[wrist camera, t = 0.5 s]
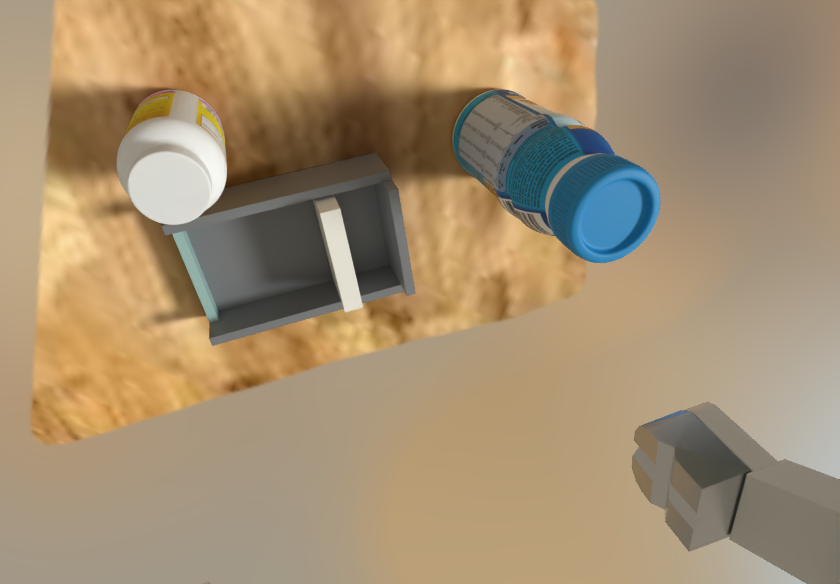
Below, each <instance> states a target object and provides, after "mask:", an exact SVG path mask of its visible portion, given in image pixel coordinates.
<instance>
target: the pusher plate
mask: <svg viewBox="0 0 840 584" xmlns="http://www.w3.org/2000/svg"><path fill="white" fill-rule="evenodd" d="M313 203H314V206H315V210H316V214H317V218H318V222H319V226H320V230H321V234H322V237H323V241H324V245H325V249H326V253H327V257H328V261H329V265H330V268H331V272H332V276H333V280H334V283H335V285H336V288H337V291H338V294H339V297H340V299H341V302H342V305H343V308H344V311H345V312H348V311H352V310H355V309H359V308H362V307H363V305H362V300H361V296H360V292H359V287H358V283H357V279H356V274H355V270H354V266H353V261H352V257H351V253H350V248H349V244H348V240H347V235H346V231H345V227H344V223H343V218H342V214H341V210H340V207H339V205H338V203H337V201H336V198H335V196H334V194H333V195H329V196H325V197H321V198H317V199H313Z"/></svg>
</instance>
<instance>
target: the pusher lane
mask: <svg viewBox="0 0 840 584" xmlns="http://www.w3.org/2000/svg"><path fill="white" fill-rule="evenodd" d="M333 194H334V196H335V198H336V201H337V203H338V205H339V207H340V210H341V214H342V218H343V223H344V227H345V231H346V235H347V240H348V244H349V248H350V253H351V257H352V261H353V266H354V270H355V274H356V279H357V283H358V287H359V292H360V296H361V300H362V303H365V302H369V301H372V300H376V299H379V298H383V297H386V296H390V295H394V294H397V293H401V292H405V293H406V295H407V296H408V295H412V294H415V288H414V282H413V276H412V270H411V264H410V258H409V252H408V246H407V240H406V234H405V228H404V222H403V216H402V210H401V204H400V197H399V191H398V188H397V187H396V185H395V184H394V183H393V181H392V180H391V174H390V170H389V169H388V168H387V166H386V165H385V164H384V162H383V161H382V160H381V159H380V157H379V156H378V155H377V154H376V153H372V154H367V155H363V156H359V157H355V158H350V159H346V160H342V161H338V162H333V163H329V164H325V165H321V166H316V167H312V168H308V169H304V170H300V171H295V172H291V173H287V174H283V175H278V176H274V177H270V178H266V179H261V180H257V181H253V182H249V183H244V184H240V185H236V186H232V187H227V188H224V190H223V192H222V194H221V195H220V197H219V198H218V200H217V201H216V202H215V203H214V204H213V205H212V206H211V207H210V208H208V209H207V210H205V211H204V212H203V213H202V214H201V215H200V216H199V217H198V218H196V219H194V220H192V221H190V222H188V223H184V224H178V225H169V224H161V227H162V230H163V232H164V234H165V236H166V235H170V234H172V235H173V237H174V240H175V242H176V244H177V247H178V249H179V251H180V254H181V256H182V259H183V261H184V263H185V266H186V268H187V270H188V273H189V275H190V278H191V280H192V282H193V285H194V287H195V289H196V292H197V294H198V296H199V299H200V301H201V304H202V306H203V308H204V311H205V313H206V315H207V318H208V320H209V323H210V329H209V339H210V341H211V344H212V346H214V345H217V344H221V343H224V342H228V341H231V340H235V339H238V338H242V337H245V336H249V335H252V334H256V333H259V332H263V331H266V330H270V329H274V328H277V327H281V326H284V325H288V324H291V323H295V322H298V321H302V320H305V319H309V318H312V317H316V316H319V315H323V314H326V313H330V312H334V311H337V310H341V309H344V308H343V305H342V302H341V299H340V297H339V294H338V291H337V288H336V285H335V283H334V280H333V276H332V272H331V268H330V265H329V261H328V257H327V253H326V249H325V245H324V241H323V237H322V234H321V230H320V226H319V222H318V218H317V214H316V210H315V206H314V203H313V199H317V198H321V197H325V196H329V195H333Z"/></svg>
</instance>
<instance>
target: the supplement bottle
mask: <svg viewBox="0 0 840 584" xmlns="http://www.w3.org/2000/svg"><path fill="white" fill-rule="evenodd" d="M117 173H118V176H119V179H120V182H121V184H122V186H123V188H124V190H125V191H126V192H127V194H128V195H129V196H130V199H131V201H132V203H133V204H134V206H135V207H136V208H137V209H138V210H139V211H140V212H141V213H142V214H143V215H145V216H146V217H148V218H149V219H151V220H153V221H156V222H158V223H162V224H169V225H178V224H184V223H188V222H190V221H192V220H194V219H196V218H198V217H199V216H200V215H201V214H202V213H203V212H204V211H205V210H207V209H208V208H210V207H211V206H212V205H213V204H214V203H215V202H216V201H217V200H218V198H219V197H220V195H221V194H222V192H223V190H224V187H225V183H226V178H227V163H226V148H225V136H224V130H223V127H222V124H221V121H220V119H219V117H218V115H217V114H216V112H215V111H214V110H213V108H212V107H211V106H210V105H209V104H208V103H207V102H205V101H204V100H203V99H201V98H200V97H198V96H196V95H194V94H192V93H189V92H186V91H181V90H164V91H160V92H157V93H154V94H152V95H150V96H148V97H147V98H146V99H145V100H143V101H142V102H141V103H140V104H139V106H138V107H137V109H136V110H135V112H134V114H133V117H132V119H131V121H130V123H129V126H128V128H127V130H126V132H125V135H124V137H123V139H122V141H121V144H120V146H119V149H118V153H117Z"/></svg>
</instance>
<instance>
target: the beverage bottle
mask: <svg viewBox="0 0 840 584" xmlns="http://www.w3.org/2000/svg"><path fill="white" fill-rule="evenodd" d="M452 141H453V150H454V154H455V156H456V159H457V161H458V162H459V164H460V165H461V167H462V168H463V169H464V170H465V171H466V172H467V173H469V174H470V175H471V176H473V177H474V178H476V179H477V180H479V181H480V182H481V183H482V184H483V185H484V186H485V187H486V188H487V189H488V190H490V191H491V192H492V193H493V194H494V195H495V196H496V197H497V198H498V200H499V202H500V203H501V205H502V206H503V207H504V208H505V209H506V210H507V211H508V212H509V213H510V214H512V215H513V216H515V217H516V218H518V219H520V220H521V221H522V222H523V223H524V224H525V225H526V226H527V227H529V228H531V229H532V230H534V231H536V232H539V233H542V234H546V235H551V236H556V237H557V239H558V240H559V241H561V242H562V243H563V244H564V245H565V246H566V247H567V248H568V249H570V250H571V251H572V252H573V253H574V254H575V255H577V256H579V257H580V258H583V259H585V260H587V261H590V262H594V263H606V262H611V261H615V260H617V259H620V258H622V257H624V256H626V255H627V254H629V253H630V252H632V251H633V250H635V249H636V248H637V247H638V246H639V245H640V244H641V243H642V242H643V241H644V240H645V238H646V237H647V236H648V234H649V233H650V232H651V230H652V228H653V226H654V224H655V222H656V220H657V217H658V213H659V209H660V192H659V188H658V185H657V183H656V182H655V180H654V179H653V177H652V176H651V175H650V174H649V173H648V172H646V170H644V169H643V168H641V167H640V166H638V165H636V164H634V163H632V162H630V161H628V160H626V159H624V158H622V157H619V156H617V155H615V154H614V152H613V150H612V149H611V147H610V145H609V144H608V142H607V141H606V140H605V139H604V138H603V137H602V136H601V135H600V134H599V133H597V132H596V131H594V130H592V129H590V128H588V127H585V126H584V125H583V124H582V123H580V122H579V121H577V120H576V119H574V118H572V117H570V116H567V115H564V114H558V113H555V112H552V111H550V110H548V109H546V108H544V107H542V106H540V105H538V104H535V103H533V102H531V101H529V100H527V99H526V98H524V97H523V96H521V95H519V94H517V93H515V92H513V91H510V90H504V89H496V90H490V91H487V92H484V93H482V94H480V95H478V96H477V97H475V98H474V99H472V100H471V101H470V102H469V103H468V104H467V105H466V106H465V107H464V109H463V110H462V111H461V113H460V115H459V116H458V118H457V121H456V123H455V126H454V130H453V139H452Z"/></svg>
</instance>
